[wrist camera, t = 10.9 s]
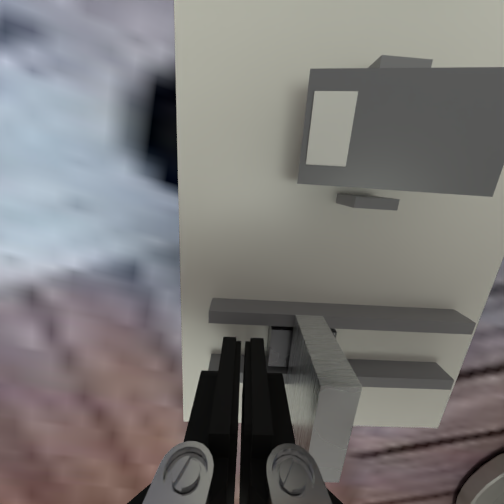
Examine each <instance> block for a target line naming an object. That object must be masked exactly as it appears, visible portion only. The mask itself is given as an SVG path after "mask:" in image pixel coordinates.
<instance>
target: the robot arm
mask: <svg viewBox="0 0 504 504" xmlns="http://www.w3.org/2000/svg"><path fill="white" fill-rule="evenodd" d="M240 361H241V341H236V337H223V343H222V349H221V356H220V362H219V369H218V371H205V370H202V371H201V373H200V377H199V381H198V385H197V389H196V394H195V398H194V402H193V406H192V410H191V414H190V418H189V422H188V426H187V431H186V435H185V439H184V442H183V443H180V444H178V445H176V446H175V447H173V448H172V449H171V450H170V451H169V452H168V453H167V454H166V455H165V456H164V458H163V460H162V461H161V463H160V465H159V467H158V470H157V472H156V474H155V476H154V479H153V481H152V483H151V484H150V485H149V486H147V487H146V488H145V489H144V490H143V491H141V492H140V493H139V494H138V495H137V496H136V497H134V498H133V499H132V500H131V501H130V502H129V503H127V504H234V492H235V474H236V456H237V437H238V414H239V387H240ZM239 504H343V503H342V502H341V501H340V500H339V499H337V498H336V497H335V496H334V495H333V494H332V493H331V492H330V491H329V490H328V489H327V488H326V486H325V483H324V481H323V478H322V475H321V473H320V470H319V467H318V465H317V464H316V462H315V460H314V458H313V457H312V456H311V455H310V453H309V452H308V451H307V450H305V449H304V448H302V447H301V446H298V445H296V444H295V439H294V433H293V428H292V422H291V417H290V411H289V406H288V400H287V395H286V389H285V384H284V378H283V374H282V373H267V368H266V358H265V348H264V339H263V338H250V341H245V354H244V371H243V388H242V418H241V458H240V499H239ZM456 504H504V453H502V454H500V455H498V456H496V457H494V458H493V459H491V460H490V461H488V462H487V463H485V464H484V465H482V466H481V467H480V468H479V469H478V470H477V471H476V472H474V473H473V474H472V475H471V476H470V478H469V479H468V480H467V481H466V482H465V484H464V485H463V487H462V488H461V490H460V492H459V494H458V496H457V500H456Z"/></svg>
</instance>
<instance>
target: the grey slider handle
mask: <svg viewBox="0 0 504 504" xmlns="http://www.w3.org/2000/svg"><path fill="white" fill-rule="evenodd" d="M336 335H337V332H336V330H335V329H332V328H329V326H328V324H327V322H326V321H325V319H324V317H323V316H312V315H295V321H294V327H286V326H269V330H268V340H267V351H266V352H267V361H268V366H283V367H288V374H287V382H286V393H287V399H288V404H289V409H290V415H291V420H292V425H293V431H294V436H295V441H296V445H298V446H301V447H302V448H304V449H305V450H307V451H308V452H309V453H310V455H311V456H312V457H313V458H314V460H315V462H316V464H317V465H318V467H319V470H320V473H321V475H322V478H323V481H324V482H339V479H340V475H341V471H342V467H343V463H344V459H345V455H346V451H347V447H348V443H349V439H350V435H351V431H352V427H353V423H354V419H355V415H356V411H357V407H358V403H359V399H360V395H361V391H362V385H361V383H360V381H359V380H358V378H357V376H356V374H355V373H354V371H353V369H352V367H351V365H350V364H349V362H348V360H347V358H346V356H345V355H344V353H343V351H342V349H341V348H340V346H339V344H338V342H337V340H336Z"/></svg>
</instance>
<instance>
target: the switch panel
mask: <svg viewBox="0 0 504 504" xmlns="http://www.w3.org/2000/svg"><path fill="white" fill-rule="evenodd" d="M174 20H175V64H176V108H177V152H178V196H179V240H180V284H181V327H182V371H183V415H184V421H189V418H190V414H191V410H192V406H193V402H194V398H195V394H196V389H197V385H198V381H199V377H200V373H201V371H202V370H205V371H218V369H219V362H220V356H221V349H222V343H223V337H236V341H241V361H240V387H239V414H238V423H241V418H242V388H243V371H244V354H245V341H250V338H263V339H264V348H265V358H266V368H267V373H282V374H283V378H284V384H285V389H286V382H287V374H288V367H283V366H268V361H267V352H266V351H267V340H268V330H269V326H286V327H294V321H295V315H312V316H323V317H324V319H325V321H326V322H327V324H328V326H329V328H332V329H335V330H336V332H337V335H336V340H337V342H338V344H339V346H340V348H341V349H342V351H343V353H344V355H345V356H346V358H347V360H348V362H349V364H350V365H351V367H352V369H353V371H354V373H355V374H356V376H357V378H358V380H359V381H360V383H361V385H362V391H361V395H360V399H359V403H358V407H357V411H356V415H355V419H354V423H353V426H375V427H412V428H438V426H439V424H440V421H441V418H442V416H443V413H444V411H445V408H446V405H447V403H448V400H449V398H450V395H451V393H452V390H453V387H454V385H455V382H456V380H457V377H458V374H459V372H460V369H461V367H462V364H463V361H464V359H465V356H466V354H467V351H468V348H469V346H470V343H471V341H472V338H473V335H474V333H475V330H476V328H477V325H478V322H479V320H480V317H481V315H482V312H483V309H484V307H485V304H486V302H487V299H488V296H489V294H490V291H491V289H492V286H493V283H494V281H495V278H496V276H497V273H498V270H499V268H500V265H501V263H502V260H503V257H504V165H503V168H502V171H501V174H500V177H499V180H498V183H497V186H496V188H495V191H494V194H493V197H486V196H471V195H457V194H442V193H427V192H413V191H398V190H383V189H369V188H354V187H339V186H325V185H310V184H297V180H298V172H299V163H300V154H301V145H302V137H303V128H304V119H305V110H306V102H307V93H308V84H309V75H310V69H320V68H452V67H504V0H174ZM286 395H287V393H286ZM287 400H288V399H287ZM288 406H289V404H288ZM289 411H290V409H289ZM290 417H291V415H290ZM291 422H292V420H291Z"/></svg>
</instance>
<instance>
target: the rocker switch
mask: <svg viewBox="0 0 504 504" xmlns="http://www.w3.org/2000/svg"><path fill="white" fill-rule="evenodd" d="M503 165H504V67H452V68H320V69H310V75H309V84H308V93H307V102H306V110H305V119H304V128H303V137H302V145H301V154H300V163H299V172H298V180H297V184H310V185H325V186H339V187H354V188H369V189H383V190H398V191H413V192H427V193H442V194H457V195H471V196H486V197H493V194H494V191H495V188H496V186H497V183H498V180H499V177H500V174H501V171H502V168H503Z"/></svg>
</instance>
